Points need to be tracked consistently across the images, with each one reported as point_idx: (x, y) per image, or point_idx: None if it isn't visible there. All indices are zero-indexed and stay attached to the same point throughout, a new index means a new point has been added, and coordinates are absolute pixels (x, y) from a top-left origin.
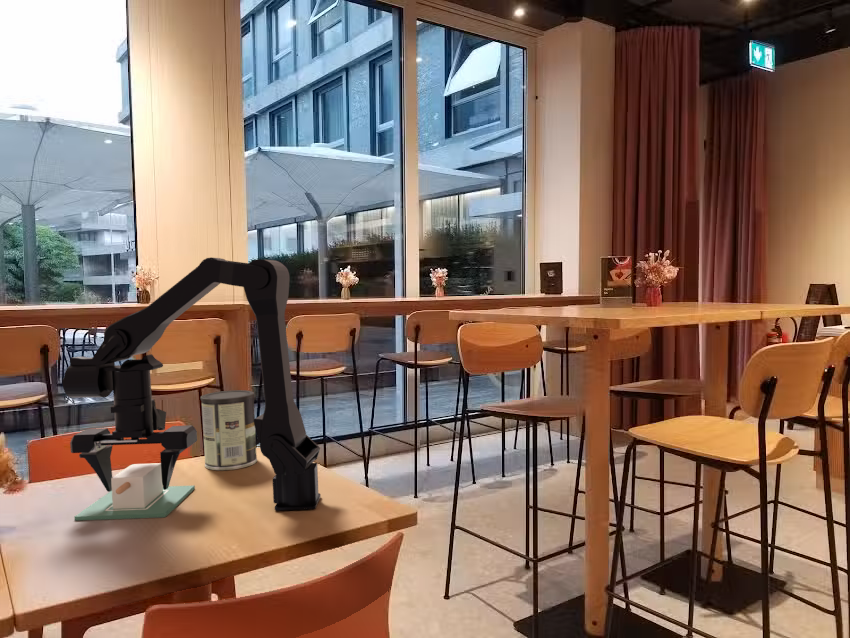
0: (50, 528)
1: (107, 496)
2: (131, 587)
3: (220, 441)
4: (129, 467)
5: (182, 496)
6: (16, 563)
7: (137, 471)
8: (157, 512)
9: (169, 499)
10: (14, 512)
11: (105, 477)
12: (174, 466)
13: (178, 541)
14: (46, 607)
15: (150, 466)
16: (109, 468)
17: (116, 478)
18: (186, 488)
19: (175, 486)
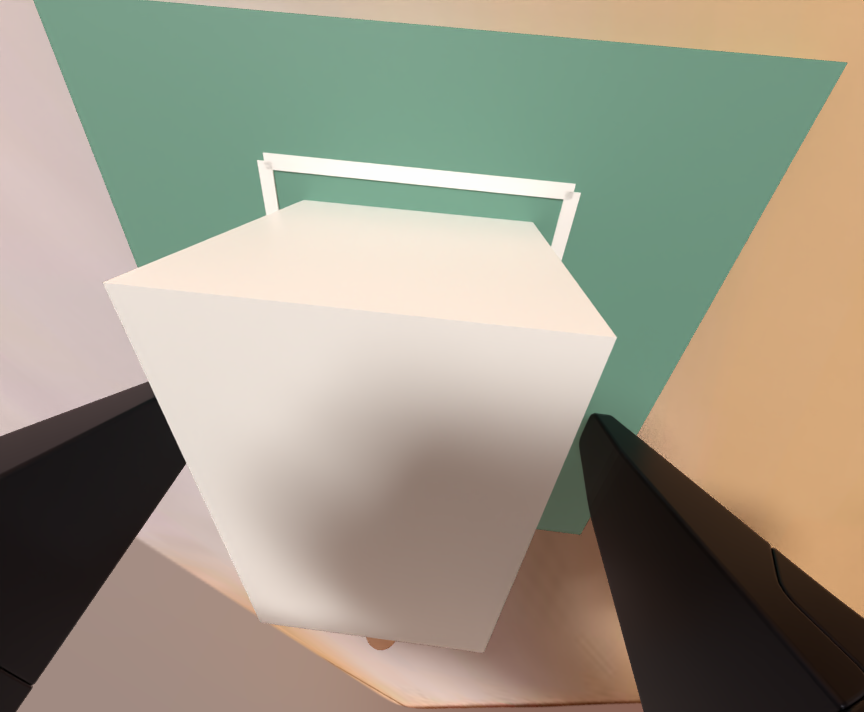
0: (204, 511)
1: (162, 254)
2: (543, 705)
3: None
4: (200, 431)
5: (675, 361)
6: (291, 628)
7: (384, 562)
8: (548, 521)
9: (592, 395)
10: None
11: (145, 517)
12: (787, 563)
13: (621, 635)
14: (438, 706)
15: (468, 458)
16: (38, 502)
17: (299, 624)
18: (737, 169)
19: (640, 66)
